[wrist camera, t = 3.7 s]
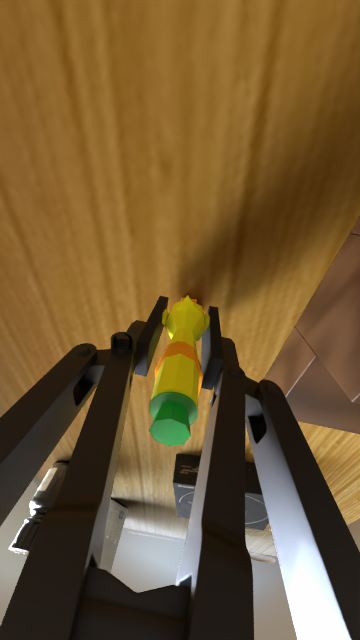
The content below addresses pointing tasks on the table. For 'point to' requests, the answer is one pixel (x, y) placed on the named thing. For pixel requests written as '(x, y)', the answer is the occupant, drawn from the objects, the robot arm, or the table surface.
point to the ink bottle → (40, 507)
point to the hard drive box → (112, 534)
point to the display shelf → (326, 348)
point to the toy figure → (178, 374)
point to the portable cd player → (186, 486)
